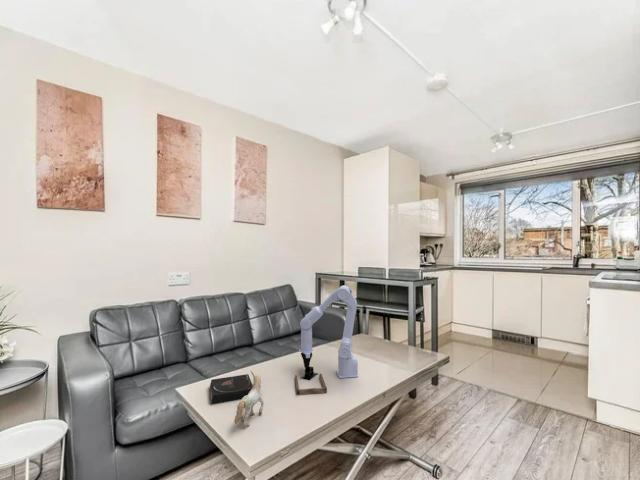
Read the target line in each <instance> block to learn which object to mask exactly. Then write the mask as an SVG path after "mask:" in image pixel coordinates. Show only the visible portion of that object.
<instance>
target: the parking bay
mask: <svg viewBox="0 0 640 480" xmlns="http://www.w3.org/2000/svg"><path fill="white" fill-rule="evenodd" d="M318 374H319V377H318V378H319V381H320V384H321V387H312V388H310V387H309V388H300V385H299V381H298V380H299V379H298V375H297V374H295V375H294V385H295V390H296V396H304V395H319V394H327V393H328V387H327V385H326V383H325V380H324V376H323V374H322V373H318Z"/></svg>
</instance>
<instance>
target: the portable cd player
mask: <svg viewBox="0 0 640 480" xmlns="http://www.w3.org/2000/svg"><path fill="white" fill-rule="evenodd" d="M252 384H253V383H252V380H251V378H250V375H249V373H246V374H240V375H233V376H226V377H220V378H212V379H211V380H210V384H209V391H210V392H209V393H210V403H211V405H218V404H222V403H229V402H234V401H239V400H240V401H241V399H242V398H243V397H244V396H246V395H248V394H249V392H250V391H251V390H252V388H253V386H252Z"/></svg>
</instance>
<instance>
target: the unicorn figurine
mask: <svg viewBox="0 0 640 480" xmlns="http://www.w3.org/2000/svg"><path fill="white" fill-rule="evenodd" d="M250 373H251V375H252V376H253V377H252V379H253V383H252V386H253V388H252V390H251V391H250V392H249V394H248V395H246V396H244V397H243V398H242V399H241V400H240V401H239V402H238V404H237V406H236V407H237V409H236V411H235V413H236V414H235V416H234V420H233V422H234V425H235V427H236V428H237V426H238V424H239V423H240V422H241V423H243V425H244V427H245V428H249V427H250V424H249V422H248V416H251V417H252V416H254V415H255V412H254V407H255V405H257V403H258V402H260V407H259V409H258V411H259V412H258V415H259V416H262V414H263V410H264V403H265V402H264V400H263V398H262V397H263V392H262V391H261V388H262V385H261V384H262V382H261V376H260V374H256V375H255V374H254V372H253V371H252V370H250ZM244 410H245V414H243V413H244Z"/></svg>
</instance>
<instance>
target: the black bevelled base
mask: <svg viewBox="0 0 640 480" xmlns="http://www.w3.org/2000/svg"><path fill="white" fill-rule="evenodd" d="M314 370H315V368H314V366H311V365H309V366H308V367H306V368H305V367H304V374H303V375H302V376H301V377H300V378H299V379H300V380H305V381H311V380H312V379H314V378H315V377H316V376H317V375H318V374H319V373H318V372H315V371H314Z"/></svg>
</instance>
